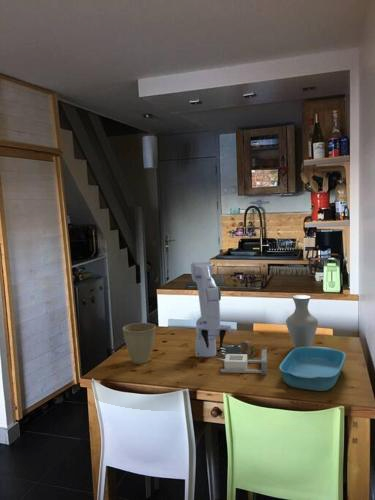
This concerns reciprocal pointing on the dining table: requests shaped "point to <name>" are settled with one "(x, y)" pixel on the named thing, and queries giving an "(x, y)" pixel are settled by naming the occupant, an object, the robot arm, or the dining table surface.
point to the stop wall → (264, 362)
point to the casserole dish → (312, 367)
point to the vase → (301, 323)
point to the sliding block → (236, 361)
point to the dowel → (245, 347)
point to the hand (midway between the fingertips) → (214, 347)
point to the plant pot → (139, 341)
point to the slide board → (243, 369)
